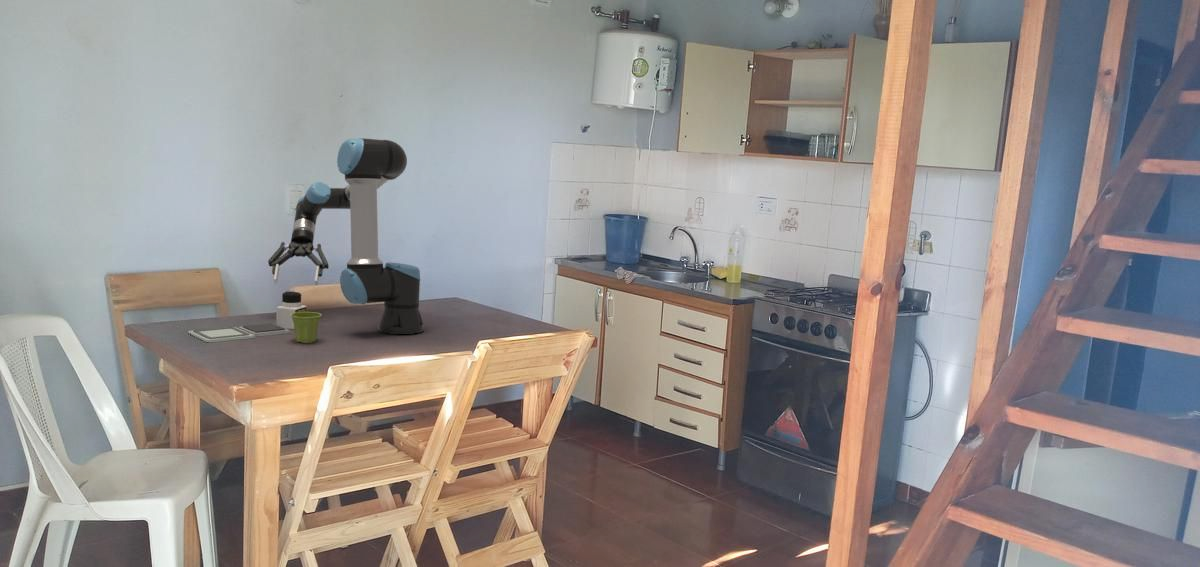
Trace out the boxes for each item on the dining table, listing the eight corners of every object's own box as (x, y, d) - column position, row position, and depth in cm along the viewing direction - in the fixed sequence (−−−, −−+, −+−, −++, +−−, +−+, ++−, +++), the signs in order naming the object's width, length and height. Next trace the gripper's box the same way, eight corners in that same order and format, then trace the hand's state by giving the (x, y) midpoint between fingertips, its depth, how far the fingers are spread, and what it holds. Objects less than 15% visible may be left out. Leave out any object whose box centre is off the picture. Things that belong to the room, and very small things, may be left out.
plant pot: (292, 345, 286) (293, 317, 285) (287, 338, 295) (288, 312, 293) (323, 343, 291) (324, 316, 290) (318, 337, 299) (318, 311, 298)
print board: (254, 337, 293) (254, 334, 293) (206, 342, 282) (206, 339, 282) (234, 329, 303) (234, 325, 303) (187, 333, 293) (187, 330, 293)
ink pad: (289, 333, 302) (289, 329, 302) (254, 336, 294) (254, 332, 294) (273, 326, 311) (273, 322, 311) (238, 329, 302) (238, 325, 302)
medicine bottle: (295, 329, 308) (296, 294, 306) (276, 327, 310) (276, 292, 308) (306, 326, 315) (306, 291, 313) (287, 324, 316) (287, 289, 315)
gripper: (339, 242, 337) (333, 289, 325) (268, 239, 333) (259, 287, 321) (338, 229, 331) (332, 277, 319) (265, 226, 327) (256, 274, 315)
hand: (295, 282), depth 320 cm, fingers open, 13 cm apart
